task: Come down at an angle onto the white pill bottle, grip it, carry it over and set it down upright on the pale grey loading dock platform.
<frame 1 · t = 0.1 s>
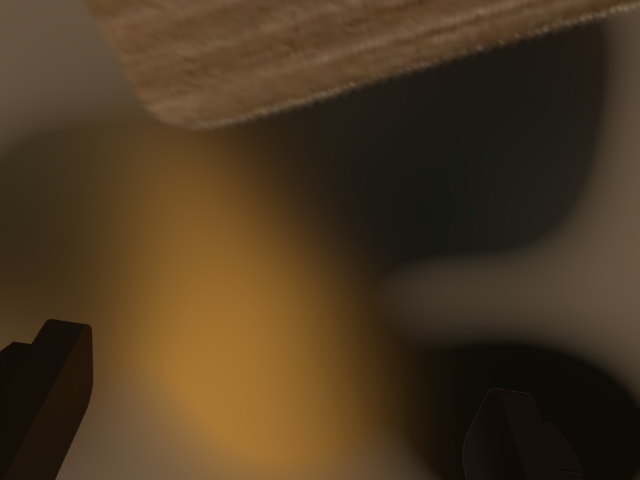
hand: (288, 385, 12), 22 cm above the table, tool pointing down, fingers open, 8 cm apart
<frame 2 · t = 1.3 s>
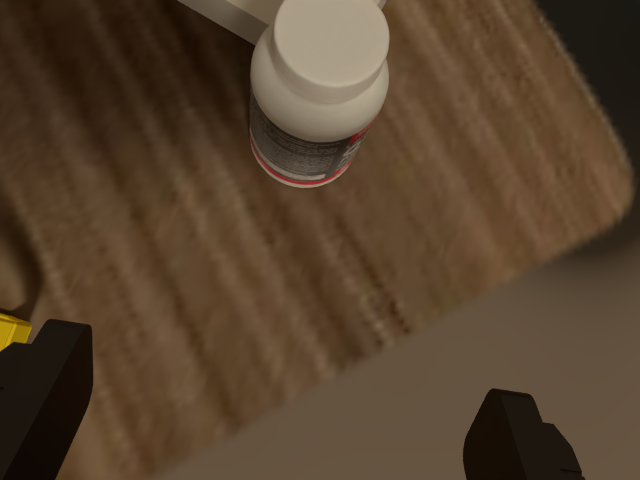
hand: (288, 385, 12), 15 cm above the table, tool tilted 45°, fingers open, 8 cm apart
pill bottle: (303, 139, 29), on the table
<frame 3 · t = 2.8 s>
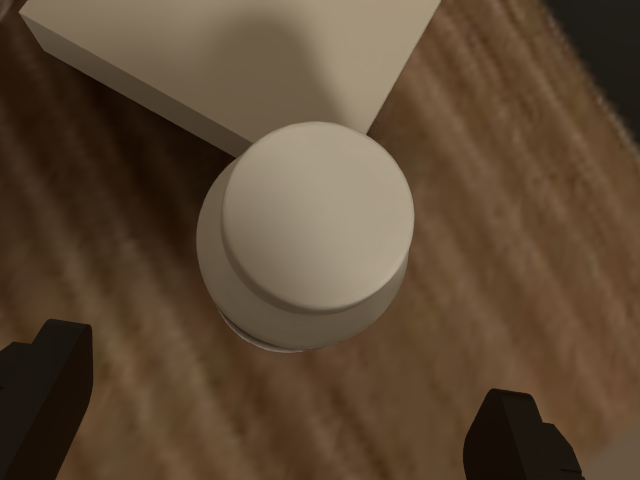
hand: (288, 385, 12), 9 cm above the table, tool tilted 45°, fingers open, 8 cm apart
dock: (251, 26, 23), on the table
pill bottle: (286, 277, 21), on the table
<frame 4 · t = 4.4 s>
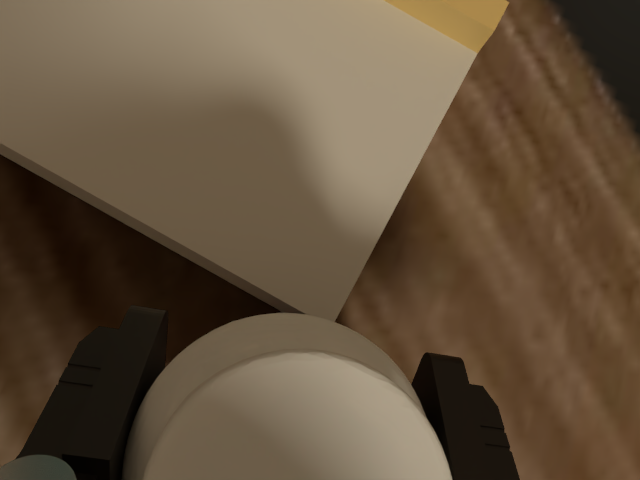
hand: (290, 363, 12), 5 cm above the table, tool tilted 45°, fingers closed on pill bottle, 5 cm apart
dock: (228, 98, 18), on the table
pill bottle: (268, 426, 17), on the table, touching gripper
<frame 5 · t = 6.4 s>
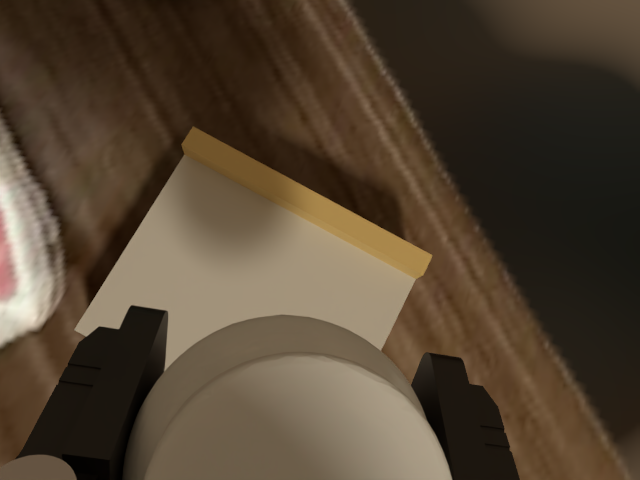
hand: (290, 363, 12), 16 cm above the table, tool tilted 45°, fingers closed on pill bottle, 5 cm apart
dock: (257, 299, 28), on the table
pill bottle: (269, 427, 17), point 11 cm above the table, touching gripper
when the fingers open (8 cm above the table, at t = 8.7 s): pill bottle stays where it is, resting on dock.
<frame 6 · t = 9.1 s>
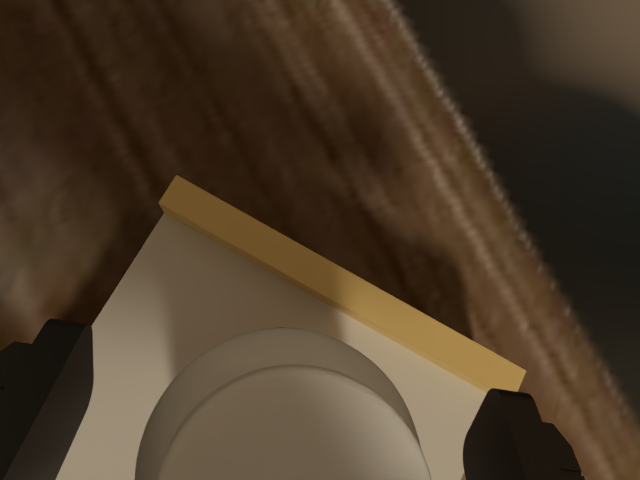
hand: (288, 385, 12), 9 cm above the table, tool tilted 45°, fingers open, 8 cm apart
dock: (265, 415, 20), on the table
pill bottle: (270, 429, 18), point 2 cm above the table, touching dock
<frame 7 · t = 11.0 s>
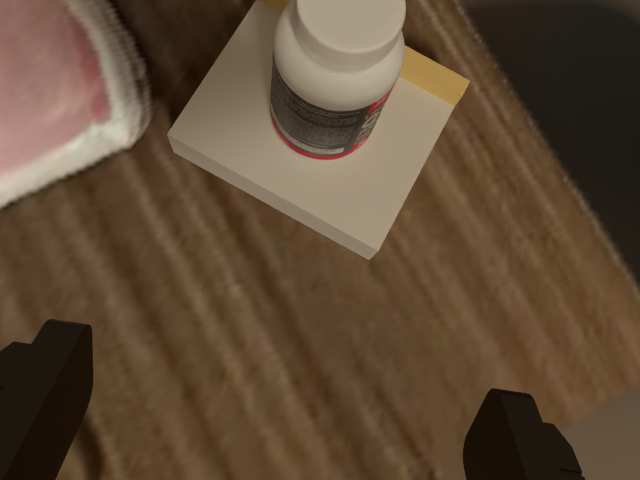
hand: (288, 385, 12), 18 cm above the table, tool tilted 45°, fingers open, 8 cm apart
dock: (315, 131, 33), on the table
pill bottle: (321, 117, 30), point 2 cm above the table, touching dock
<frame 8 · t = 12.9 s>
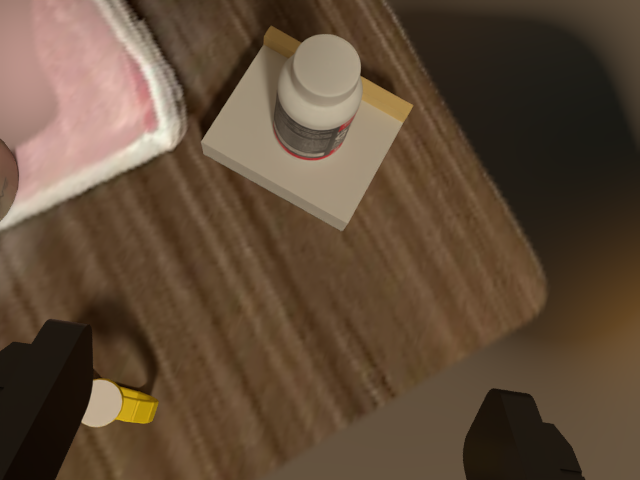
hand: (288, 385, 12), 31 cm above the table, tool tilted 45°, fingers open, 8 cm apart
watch: (118, 396, 40), on the table
dock: (304, 139, 46), on the table
pill bottle: (308, 130, 43), point 2 cm above the table, touching dock
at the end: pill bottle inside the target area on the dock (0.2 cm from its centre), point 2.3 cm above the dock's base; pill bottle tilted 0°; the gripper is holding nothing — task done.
